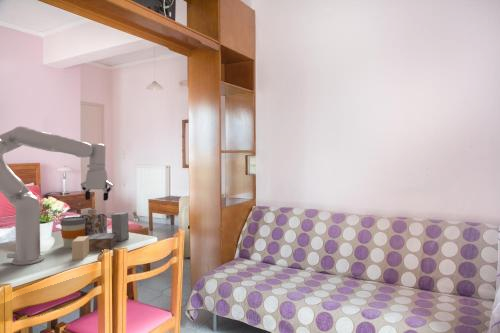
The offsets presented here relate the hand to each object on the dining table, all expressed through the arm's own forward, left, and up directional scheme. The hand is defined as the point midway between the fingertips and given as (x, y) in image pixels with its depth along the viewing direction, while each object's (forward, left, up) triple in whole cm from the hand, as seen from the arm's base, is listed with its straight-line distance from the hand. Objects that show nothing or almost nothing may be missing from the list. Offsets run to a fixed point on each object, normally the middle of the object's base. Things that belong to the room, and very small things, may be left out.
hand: (96, 199), depth 175 cm
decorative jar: (-8, +24, -27) cm, 37 cm away
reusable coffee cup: (-15, +12, -27) cm, 33 cm away
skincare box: (+8, +21, -27) cm, 35 cm away
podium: (0, +6, -27) cm, 27 cm away
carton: (-5, -11, -27) cm, 29 cm away
